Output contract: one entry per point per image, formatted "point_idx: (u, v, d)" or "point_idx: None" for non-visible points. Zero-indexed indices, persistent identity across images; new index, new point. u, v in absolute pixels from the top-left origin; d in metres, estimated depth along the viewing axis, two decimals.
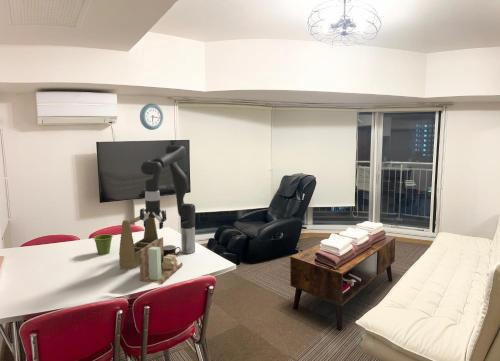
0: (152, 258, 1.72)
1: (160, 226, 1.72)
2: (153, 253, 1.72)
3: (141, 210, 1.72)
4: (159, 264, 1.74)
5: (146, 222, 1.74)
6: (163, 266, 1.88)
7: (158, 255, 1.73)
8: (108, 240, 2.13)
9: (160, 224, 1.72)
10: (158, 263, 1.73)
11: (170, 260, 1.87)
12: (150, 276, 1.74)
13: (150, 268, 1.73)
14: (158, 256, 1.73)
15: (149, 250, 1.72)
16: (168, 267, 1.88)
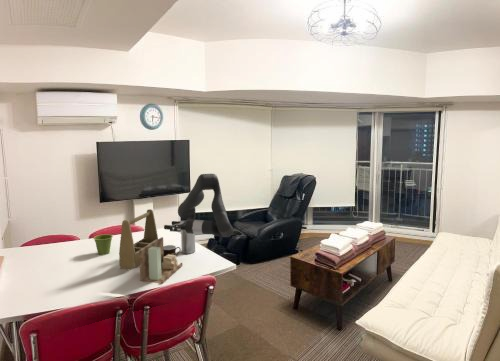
0: (152, 258, 1.72)
1: None
2: (153, 253, 1.72)
3: None
4: (159, 264, 1.74)
5: None
6: (163, 266, 1.88)
7: (158, 255, 1.73)
8: (108, 240, 2.13)
9: None
10: (158, 263, 1.73)
11: (170, 260, 1.87)
12: (150, 276, 1.74)
13: (150, 268, 1.73)
14: (158, 256, 1.73)
15: (149, 250, 1.72)
16: (168, 267, 1.88)
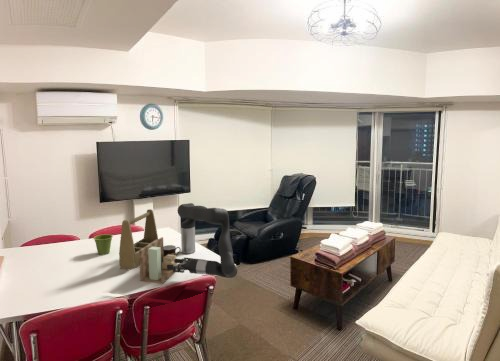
0: (152, 258, 1.72)
1: None
2: (153, 253, 1.72)
3: None
4: (159, 264, 1.74)
5: None
6: (163, 266, 1.88)
7: (158, 255, 1.73)
8: (108, 240, 2.13)
9: None
10: (158, 263, 1.73)
11: (170, 260, 1.87)
12: (150, 276, 1.74)
13: (150, 268, 1.73)
14: (158, 256, 1.73)
15: (149, 250, 1.72)
16: None
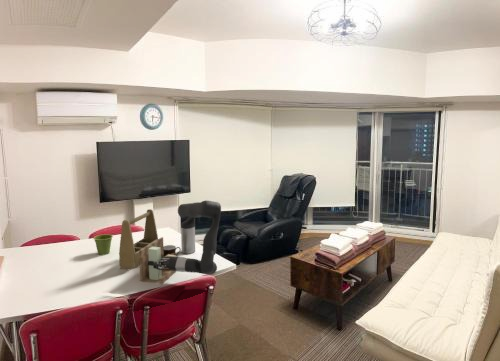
0: (152, 258, 1.72)
1: None
2: (153, 253, 1.72)
3: None
4: None
5: None
6: None
7: (158, 255, 1.73)
8: (108, 240, 2.13)
9: None
10: None
11: None
12: (150, 276, 1.74)
13: (150, 268, 1.73)
14: (158, 256, 1.73)
15: (149, 250, 1.72)
16: None
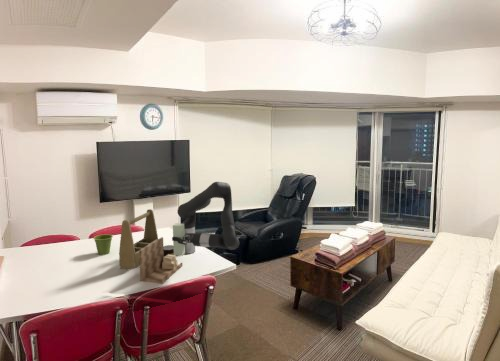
0: (176, 234, 1.78)
1: None
2: (177, 229, 1.77)
3: (185, 244, 1.73)
4: None
5: None
6: (163, 266, 1.88)
7: (182, 231, 1.78)
8: (108, 240, 2.13)
9: None
10: None
11: (170, 260, 1.87)
12: (174, 251, 1.79)
13: (174, 244, 1.79)
14: (182, 232, 1.79)
15: (173, 226, 1.77)
16: (168, 267, 1.88)
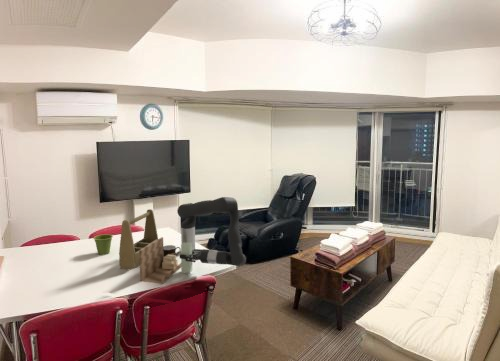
0: (185, 253, 1.81)
1: None
2: (185, 248, 1.81)
3: (194, 261, 1.76)
4: None
5: None
6: (163, 266, 1.88)
7: (190, 250, 1.82)
8: (108, 240, 2.13)
9: None
10: None
11: (170, 260, 1.87)
12: (182, 270, 1.83)
13: (182, 263, 1.82)
14: (190, 251, 1.82)
15: (182, 245, 1.81)
16: (168, 267, 1.88)
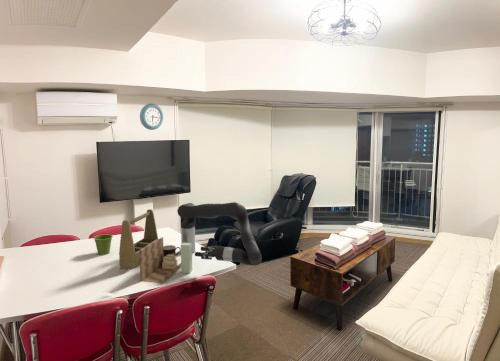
0: (184, 253, 1.81)
1: None
2: (185, 248, 1.81)
3: (210, 258, 1.73)
4: (190, 259, 1.83)
5: None
6: (163, 266, 1.88)
7: (190, 251, 1.82)
8: (108, 240, 2.13)
9: None
10: (190, 258, 1.82)
11: (170, 260, 1.87)
12: (182, 270, 1.83)
13: (182, 263, 1.82)
14: (190, 251, 1.82)
15: (181, 246, 1.81)
16: (168, 267, 1.88)
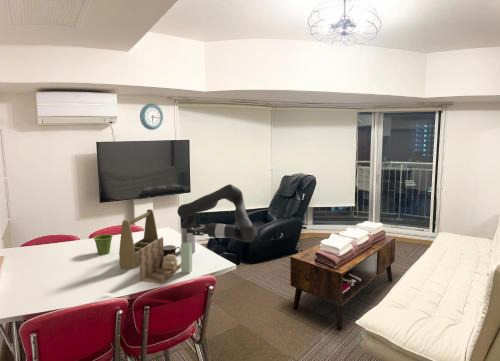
0: (184, 253, 1.81)
1: None
2: (185, 248, 1.81)
3: None
4: (190, 259, 1.83)
5: None
6: (163, 266, 1.88)
7: (190, 251, 1.82)
8: (108, 240, 2.13)
9: None
10: (190, 258, 1.82)
11: (170, 260, 1.87)
12: (182, 270, 1.83)
13: (182, 263, 1.82)
14: (190, 251, 1.82)
15: (181, 246, 1.81)
16: (168, 267, 1.88)
